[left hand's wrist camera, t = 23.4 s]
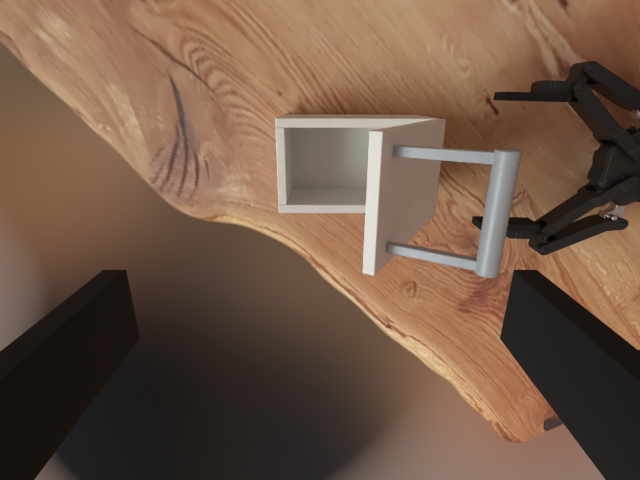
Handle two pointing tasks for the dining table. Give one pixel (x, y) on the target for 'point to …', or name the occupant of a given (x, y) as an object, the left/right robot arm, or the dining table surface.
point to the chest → (327, 160)
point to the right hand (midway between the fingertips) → (487, 163)
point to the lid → (429, 196)
